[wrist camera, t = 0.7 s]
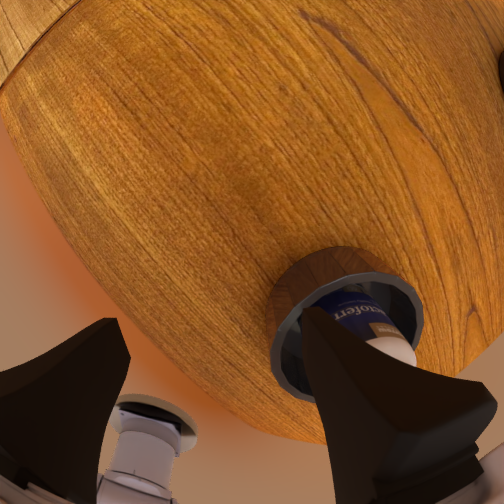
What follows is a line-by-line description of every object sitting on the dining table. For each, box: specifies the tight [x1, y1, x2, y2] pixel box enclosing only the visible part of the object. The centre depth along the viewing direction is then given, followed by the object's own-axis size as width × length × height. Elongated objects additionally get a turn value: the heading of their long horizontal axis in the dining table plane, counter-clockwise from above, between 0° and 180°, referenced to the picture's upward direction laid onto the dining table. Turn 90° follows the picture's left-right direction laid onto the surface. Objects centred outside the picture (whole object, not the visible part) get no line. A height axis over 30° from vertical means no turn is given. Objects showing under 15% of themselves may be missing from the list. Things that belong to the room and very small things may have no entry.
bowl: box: [265, 246, 424, 403], centre depth 17 cm, size 10×10×4 cm
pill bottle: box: [299, 284, 416, 367], centre depth 14 cm, size 6×6×10 cm
